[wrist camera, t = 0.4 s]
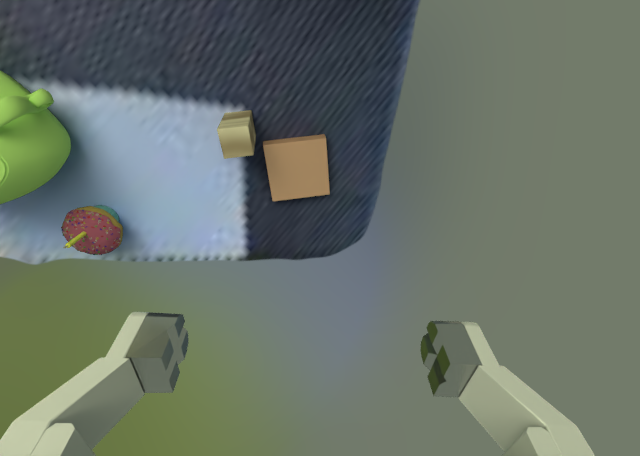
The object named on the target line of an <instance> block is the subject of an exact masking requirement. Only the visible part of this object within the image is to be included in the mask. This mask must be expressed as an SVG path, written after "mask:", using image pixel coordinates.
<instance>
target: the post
mask: <svg viewBox="0 0 640 456" xmlns="http://www.w3.org/2000/svg"><path fill="white" fill-rule="evenodd" d="M217 131H218V135H219V139H220V143H221V148H222V152H223V156H224V159H226V158H234V157H242V156H251V155H254V147H255V139H256V133H255V128H254V123H253V117H252V112H251V110H249V111H240V112H231V113H225V114H224V116H223V118H222V120H221V122H220V124H219V127H218V129H217Z"/></svg>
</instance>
